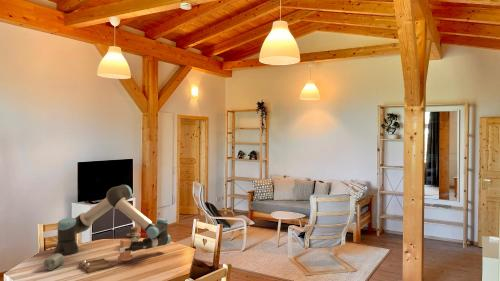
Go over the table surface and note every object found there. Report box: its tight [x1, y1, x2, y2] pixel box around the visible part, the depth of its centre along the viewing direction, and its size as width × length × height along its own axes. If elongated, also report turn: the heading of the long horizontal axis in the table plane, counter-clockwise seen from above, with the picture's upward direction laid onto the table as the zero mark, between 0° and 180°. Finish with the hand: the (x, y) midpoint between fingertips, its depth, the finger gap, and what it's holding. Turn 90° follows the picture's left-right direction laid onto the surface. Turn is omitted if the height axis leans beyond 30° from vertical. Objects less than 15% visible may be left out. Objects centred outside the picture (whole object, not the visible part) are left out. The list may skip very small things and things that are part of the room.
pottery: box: [124, 226, 142, 242], centre depth 277 cm, size 11×25×12 cm, turn 8°
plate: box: [78, 258, 115, 274], centre depth 231 cm, size 16×16×2 cm
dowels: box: [81, 260, 90, 269], centre depth 227 cm, size 8×2×3 cm, turn 45°
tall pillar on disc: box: [117, 237, 133, 262], centre depth 240 cm, size 9×9×12 cm
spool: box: [43, 253, 65, 271], centre depth 228 cm, size 14×10×10 cm
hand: (117, 249), depth 236 cm, fingers closed on tall pillar on disc, 5 cm apart
